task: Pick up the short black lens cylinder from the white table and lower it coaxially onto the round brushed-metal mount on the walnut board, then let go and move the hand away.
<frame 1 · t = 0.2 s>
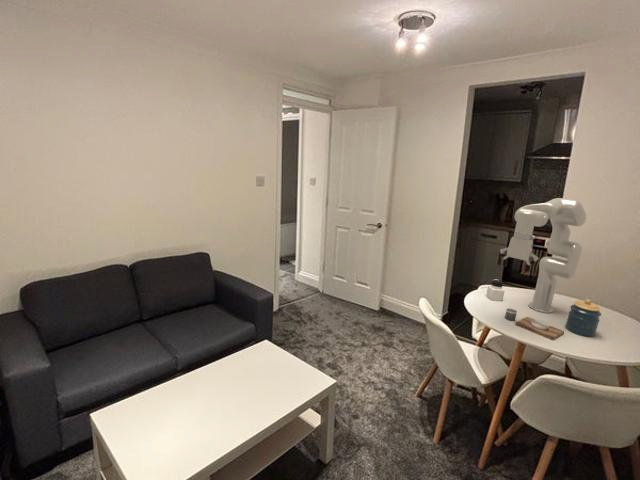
hand: (515, 269, 176), 30 cm above the table, fingers open, 9 cm apart
camera lens: (509, 318, 191), on the table
canister: (579, 331, 183), on the table
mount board: (539, 329, 181), on the table
medicine bottle: (494, 298, 219), on the table
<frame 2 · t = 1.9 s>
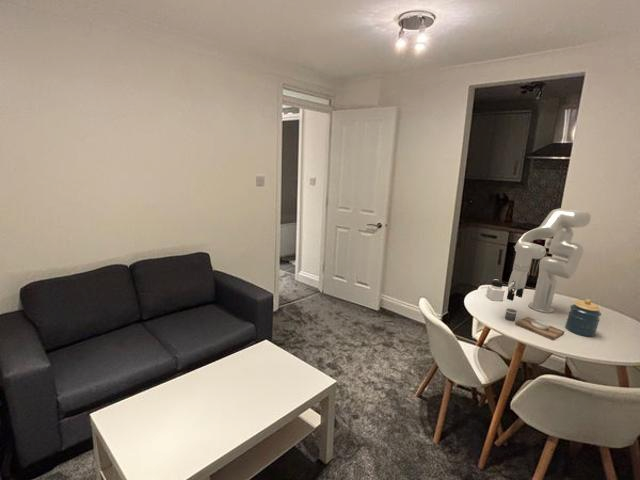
hand: (514, 298, 188), 12 cm above the table, fingers open, 9 cm apart
nothing on the table moved.
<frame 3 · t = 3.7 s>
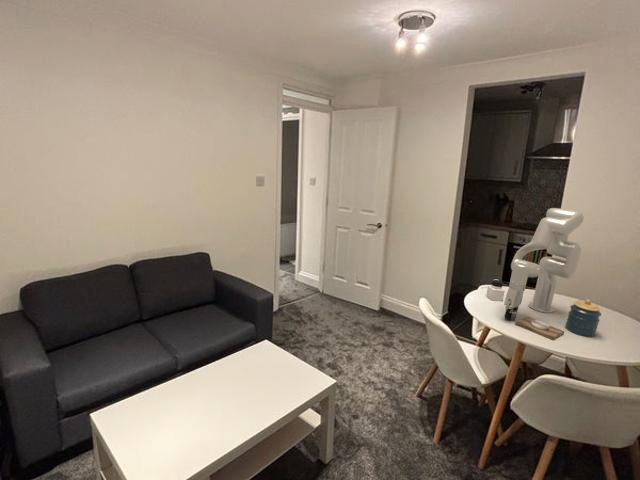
hand: (510, 317, 191), 1 cm above the table, fingers closed on camera lens, 5 cm apart
camera lens: (509, 318, 191), on the table, touching gripper
everything else where it was.
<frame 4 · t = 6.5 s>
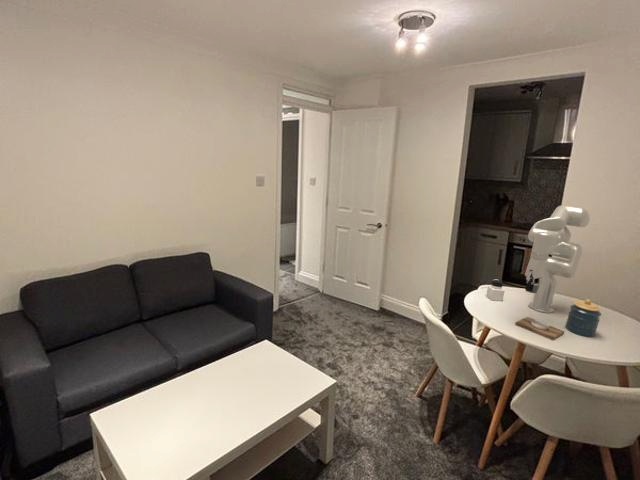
hand: (531, 289, 182), 19 cm above the table, fingers closed on camera lens, 5 cm apart
camera lens: (531, 291, 182), point 18 cm above the table, touching gripper
everything else where it was.
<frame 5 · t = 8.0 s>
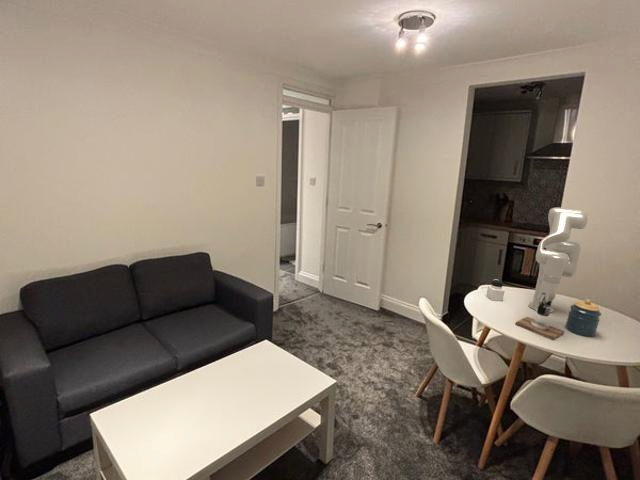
hand: (543, 312, 179), 9 cm above the table, fingers closed on camera lens, 5 cm apart
camera lens: (542, 314, 179), point 8 cm above the table, touching gripper
everything else where it was.
when the fingers open (5 cm above the table, at t = 9.4 s): camera lens stays where it is, resting on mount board.
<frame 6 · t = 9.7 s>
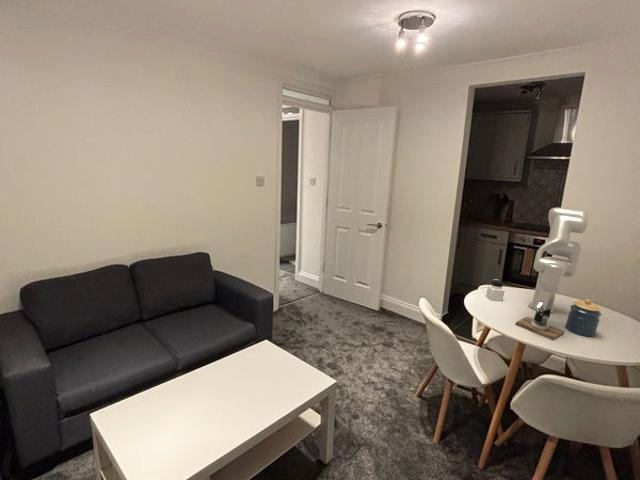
hand: (541, 319, 180), 6 cm above the table, fingers open, 8 cm apart
camera lens: (540, 323, 181), point 3 cm above the table, touching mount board
everything else where it was.
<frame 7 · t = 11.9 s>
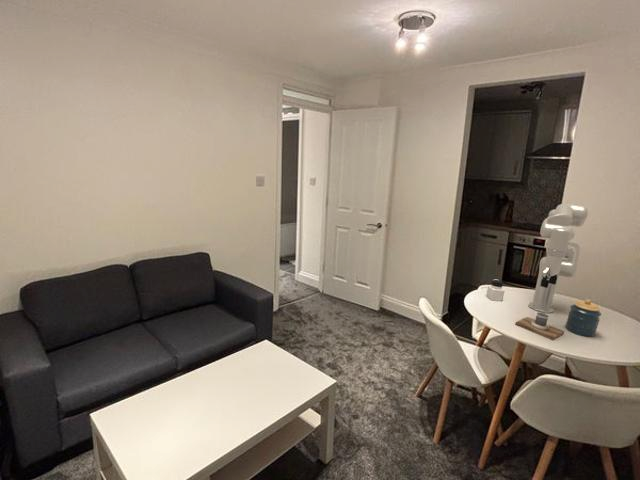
hand: (547, 285, 177), 24 cm above the table, fingers open, 9 cm apart
nothing on the table moved.
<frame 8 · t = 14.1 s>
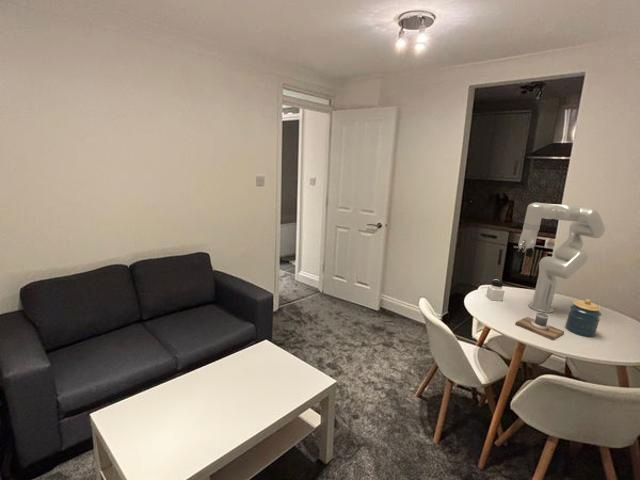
hand: (524, 257, 193), 32 cm above the table, fingers open, 9 cm apart
nothing on the table moved.
at the end: camera lens 0.0 cm off-centre on the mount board, point 3.0 cm above the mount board's base; camera lens tilted 0°; the gripper is holding nothing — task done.
